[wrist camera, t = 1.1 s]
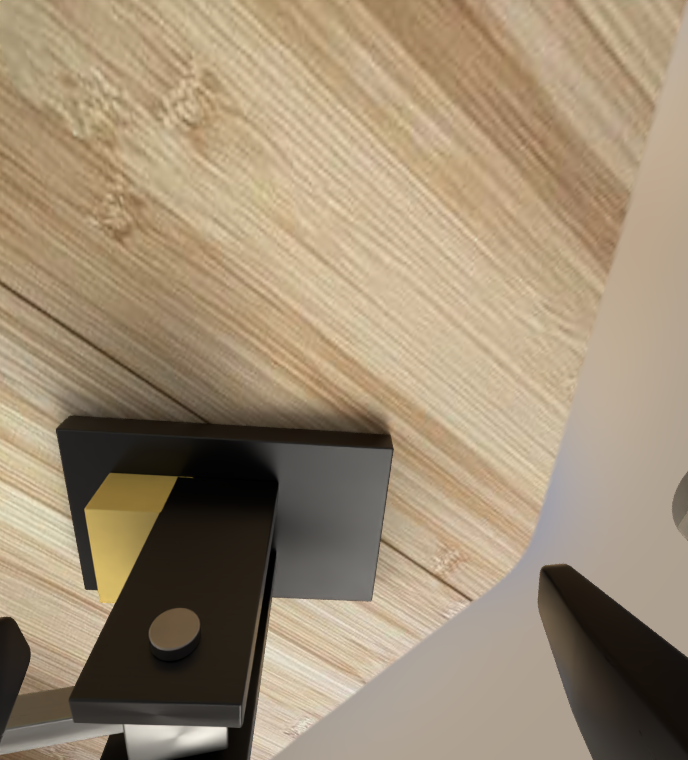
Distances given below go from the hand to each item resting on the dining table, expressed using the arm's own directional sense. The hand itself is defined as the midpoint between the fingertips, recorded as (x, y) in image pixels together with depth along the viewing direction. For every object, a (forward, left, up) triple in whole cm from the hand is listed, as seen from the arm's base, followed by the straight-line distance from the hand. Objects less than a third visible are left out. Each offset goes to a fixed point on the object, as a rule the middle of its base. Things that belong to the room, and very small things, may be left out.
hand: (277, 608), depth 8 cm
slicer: (+2, +9, -13) cm, 16 cm away
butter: (+5, +9, -12) cm, 16 cm away
